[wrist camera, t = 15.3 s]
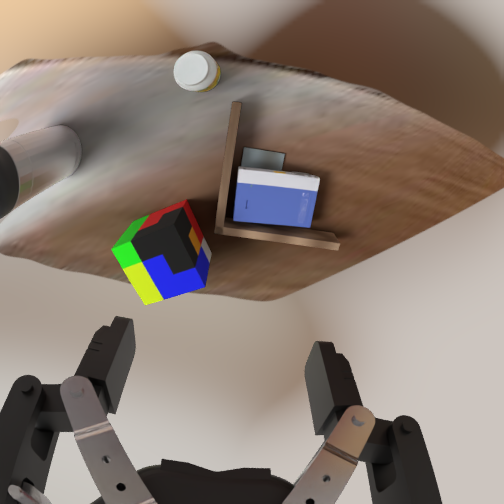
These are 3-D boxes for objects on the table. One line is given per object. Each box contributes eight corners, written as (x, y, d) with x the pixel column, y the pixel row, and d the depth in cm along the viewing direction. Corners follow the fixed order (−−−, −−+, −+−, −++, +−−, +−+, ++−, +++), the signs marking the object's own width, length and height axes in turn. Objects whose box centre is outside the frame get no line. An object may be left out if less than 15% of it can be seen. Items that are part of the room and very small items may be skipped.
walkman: (232, 214, 48) (308, 221, 49) (233, 221, 45) (312, 228, 47) (238, 164, 44) (317, 173, 46) (239, 168, 42) (322, 178, 43)
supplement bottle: (208, 50, 37) (198, 38, 28) (228, 79, 39) (224, 73, 31) (176, 71, 38) (159, 64, 30) (196, 99, 40) (184, 99, 32)
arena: (216, 223, 49) (214, 233, 46) (233, 101, 41) (232, 101, 37) (331, 239, 51) (337, 250, 47) (359, 126, 42) (369, 129, 39)
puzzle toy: (211, 253, 52) (205, 287, 43) (159, 270, 53) (145, 305, 44) (186, 199, 47) (173, 224, 38) (133, 221, 49) (111, 249, 40)
